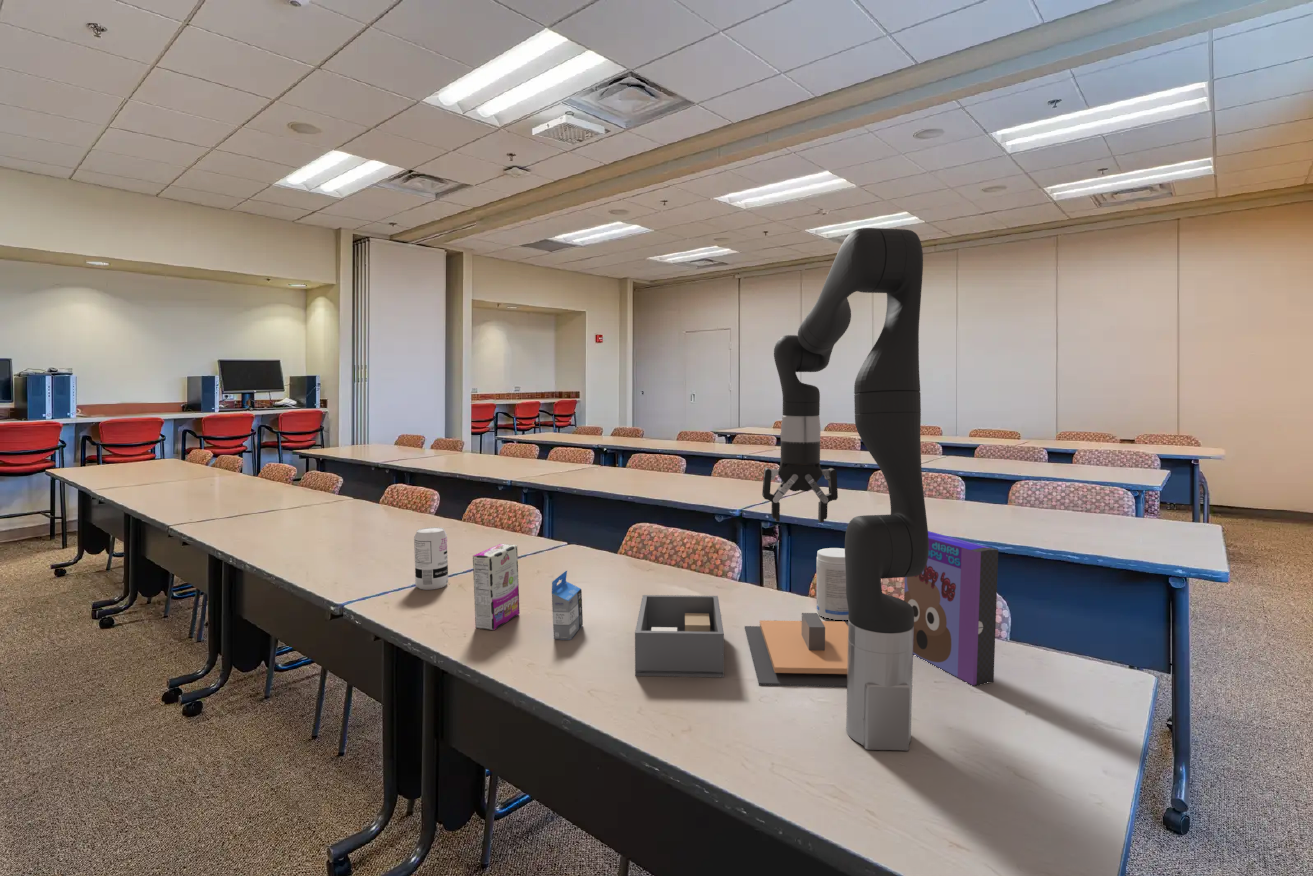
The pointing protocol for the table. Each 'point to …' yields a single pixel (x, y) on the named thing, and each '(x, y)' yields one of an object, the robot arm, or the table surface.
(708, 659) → the storage box
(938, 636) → the cereal box
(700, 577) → the table surface
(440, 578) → the supplement can
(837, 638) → the lid
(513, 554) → the candy bar box
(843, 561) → the supplement tub
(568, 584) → the label tape box
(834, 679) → the rubber mat
